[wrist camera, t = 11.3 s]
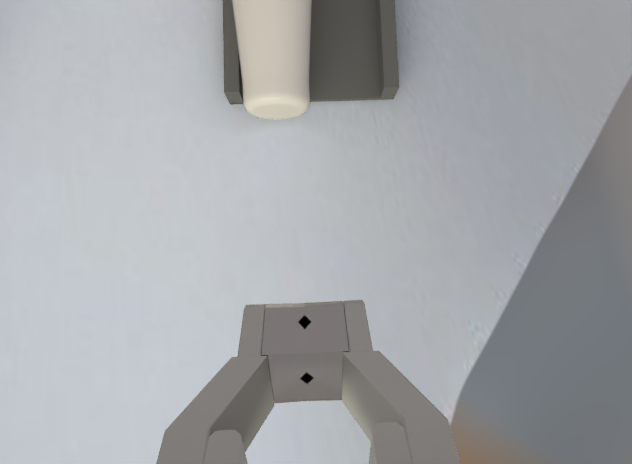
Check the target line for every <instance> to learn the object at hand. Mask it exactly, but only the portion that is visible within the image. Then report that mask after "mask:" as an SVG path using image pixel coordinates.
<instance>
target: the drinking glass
mask: <svg viewBox="0 0 632 464" xmlns="http://www.w3.org/2000/svg"><path fill="white" fill-rule="evenodd" d="M232 5H233V12H234V20H235V28H236V35H237V43H238V51H239V59H240V68H241V76H242V85H243V104H244V108H245V110H246V111H247V112H248V113H249V114H251V115H252V116H255V117H258V118H262V119H272V120H279V119H289V118H294V117H297V116H300V115H302V114H303V113H305V112H306V111H307V110H308V108H309V105H310V91H309V68H310V38H311V12H312V0H232Z"/></svg>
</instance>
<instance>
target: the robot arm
mask: <svg viewBox="0 0 632 464" xmlns="http://www.w3.org/2000/svg"><path fill="white" fill-rule="evenodd" d="M321 400H342V402H343V404H344V405H345V406H346V408H347V409H348V411H349V412H350V413H351V415H352V416H353V418H354V419H355V420H356V422H357V423H358V425H359V426H360V428H361V429H362V430H363V432H364V433H365V435H366V436H367V437H368V439H369V440H370V442H371V448H370V458H369V464H461V463H460V460H459V456H458V453H457V450H456V447H455V443H454V440H453V437H452V433H451V430H450V427H449V423H448V420H447V418H446V417H445V416H444V415H443V414H442V413H441V412H440V411H439V410H438V409H437V408H436V407H435V406H434V405H433V404H432V403H431V402H430V401H429V400H428V399H427V398H426V397H425V396H424V395H423V394H422V393H421V392H420V391H419V390H418V389H417V388H416V387H415V386H414V385H413V384H412V383H411V382H410V381H409V380H408V379H407V378H406V377H405V376H404V375H403V374H402V373H401V372H400V371H399V370H398V369H397V368H396V367H395V366H394V365H393V364H392V363H391V362H390V361H389V360H388V359H387V358H386V357H385V356H384V355H383V354H382V353H381V352H380V351H373V349H372V343H371V338H370V332H369V327H368V321H367V315H366V310H365V304H364V302H363V300H352V301H343V302H342V301H333V302H315V303H297V304H266V305H246V306H245V309H244V313H243V321H242V328H241V335H240V342H239V350H238V357H231V359H230V360H229V361H228V362H227V363H226V364H225V365H224V366H223V367H222V369H221V370H220V371H219V372H218V373H217V374H216V375H215V376H214V377H213V378H212V380H211V381H210V382H209V383H208V384H207V385H206V386H205V387H204V388H203V390H202V391H201V392H200V393H199V394H198V395H197V396H196V397H195V398H194V400H193V401H192V402H191V403H190V404H189V405H188V406H187V407H186V408H185V409H184V411H183V412H182V413H181V414H180V415H179V416H178V417H177V418H176V419H175V421H174V422H173V423H172V424H171V425H170V426H169V427H168V428H167V429H166V431H165V433H164V437H163V441H162V444H161V448H160V452H159V456H158V460H157V463H156V464H247V459H246V455H245V452H246V450H247V448H248V447H249V445H250V444H251V442H252V440H253V439H254V437H255V436H256V434H257V432H258V431H259V429H260V427H261V426H262V424H263V423H264V421H265V419H266V418H267V416H268V415H269V413H270V411H271V410H272V408H273V407H274V403H284V402H298V401H321Z"/></svg>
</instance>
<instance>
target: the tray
mask: <svg viewBox="0 0 632 464" xmlns="http://www.w3.org/2000/svg"><path fill="white" fill-rule="evenodd" d="M223 34H224V92H225V95H226V97H227V99H228V101H229V103H230V104H243V85H242V76H241V68H240V59H239V51H238V43H237V35H236V28H235V20H234V12H233V5H232V0H223ZM398 88H399V79H398V60H397V41H396V22H395V4H394V0H312V12H311V38H310V68H309V91H310V102H313V101H346V100H378V99H394V97H395V94H396V92H397V90H398Z"/></svg>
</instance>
